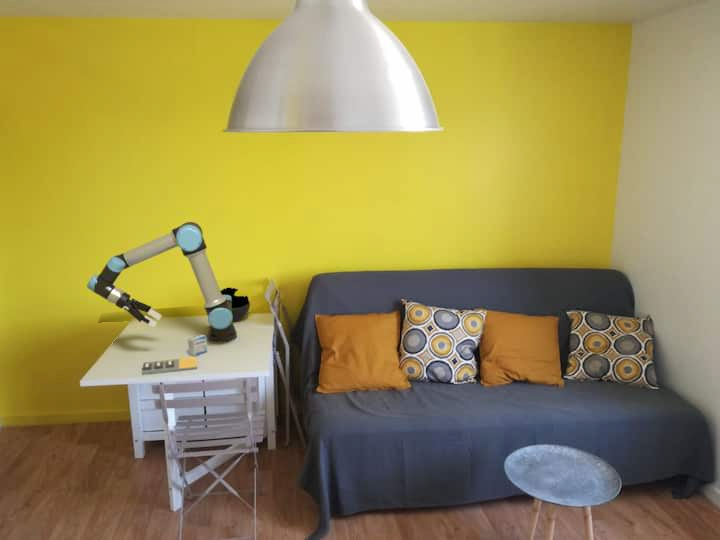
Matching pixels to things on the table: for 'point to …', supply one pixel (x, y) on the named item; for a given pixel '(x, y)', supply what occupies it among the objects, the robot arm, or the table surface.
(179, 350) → the table surface
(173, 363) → the breaker panel
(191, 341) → the medicine box
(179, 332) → the table surface
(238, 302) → the bowl of black rocks
